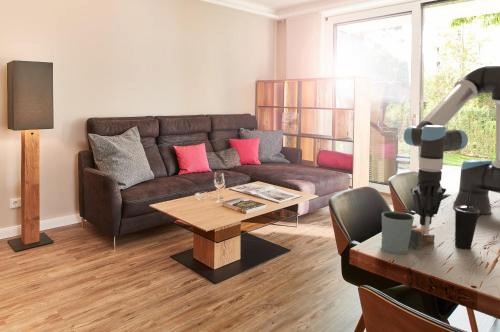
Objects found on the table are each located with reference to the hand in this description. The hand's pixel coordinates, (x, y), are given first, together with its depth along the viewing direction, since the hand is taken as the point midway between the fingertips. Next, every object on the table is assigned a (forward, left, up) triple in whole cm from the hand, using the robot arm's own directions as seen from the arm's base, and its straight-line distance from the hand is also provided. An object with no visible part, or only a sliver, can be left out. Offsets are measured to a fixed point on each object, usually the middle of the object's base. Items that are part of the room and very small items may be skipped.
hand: (424, 233), depth 144 cm
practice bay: (+4, +1, -2) cm, 5 cm away
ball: (+3, 0, 0) cm, 3 cm away
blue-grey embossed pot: (+16, +6, -3) cm, 17 cm away
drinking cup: (-9, +9, -3) cm, 13 cm away
